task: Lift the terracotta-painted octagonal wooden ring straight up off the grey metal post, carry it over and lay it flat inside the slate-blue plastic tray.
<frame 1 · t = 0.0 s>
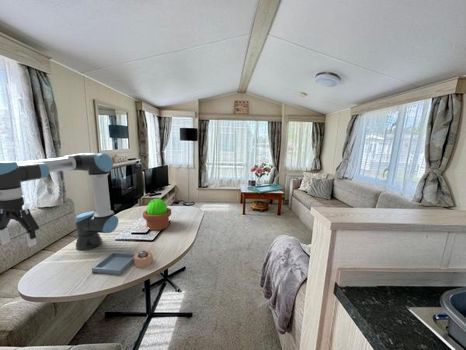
hand: (19, 244, 92), 28 cm above the table, fingers open, 13 cm apart
tray: (116, 265, 123), on the table
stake: (143, 263, 125), on the table
potted cactus: (158, 226, 177), on the table
ring: (143, 262, 125), resting on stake
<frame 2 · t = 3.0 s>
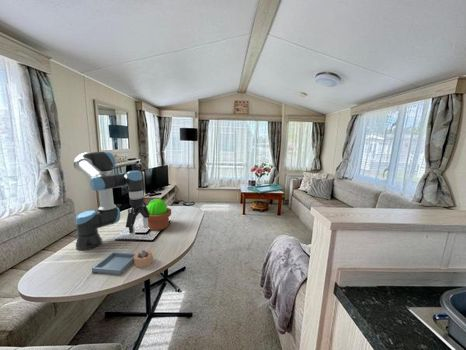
hand: (139, 232, 123), 20 cm above the table, fingers open, 13 cm apart
nothing on the table moved.
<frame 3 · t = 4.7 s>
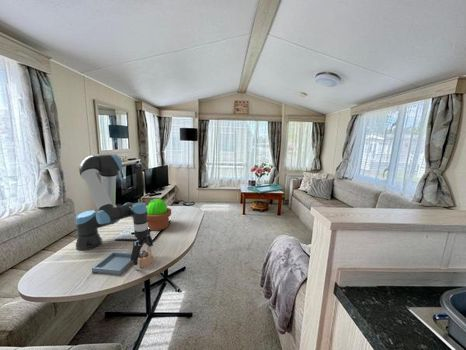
hand: (143, 262, 125), 1 cm above the table, fingers open, 13 cm apart
nothing on the table moved.
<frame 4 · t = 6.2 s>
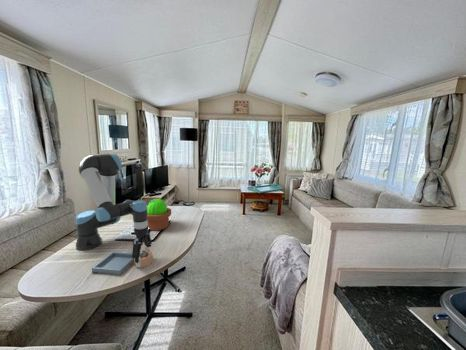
hand: (143, 261, 125), 1 cm above the table, fingers closed on ring, 10 cm apart
ring: (143, 262, 125), point 1 cm above the table, touching gripper
everything else where it was.
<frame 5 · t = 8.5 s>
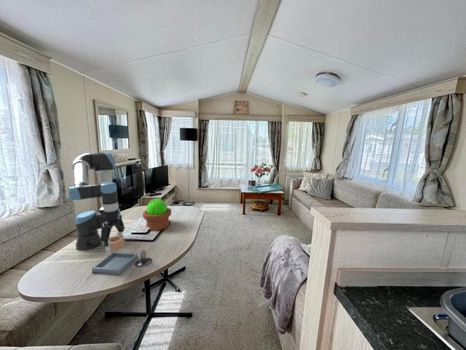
hand: (114, 246, 121), 12 cm above the table, fingers closed on ring, 10 cm apart
ring: (115, 247, 121), point 12 cm above the table, touching gripper
everything else where it was.
when the fingers open (1 cm above the table, at t = 10.8 s): ring stays where it is, resting on tray.
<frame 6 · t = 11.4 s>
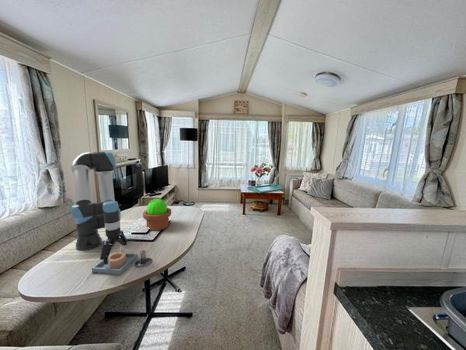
hand: (116, 261, 123), 2 cm above the table, fingers open, 13 cm apart
ring: (116, 264, 123), point 1 cm above the table, touching tray
everything else where it was.
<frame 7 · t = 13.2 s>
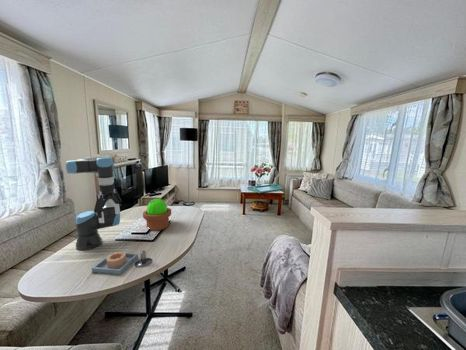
hand: (110, 218, 126), 27 cm above the table, fingers open, 13 cm apart
nothing on the table moved.
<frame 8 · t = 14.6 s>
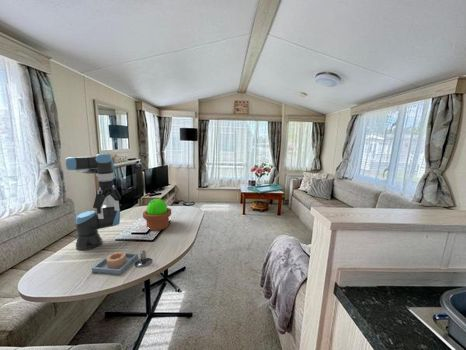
hand: (109, 214, 126), 29 cm above the table, fingers open, 13 cm apart
nothing on the table moved.
at the end: ring inside the target area on the tray (0.3 cm from its centre), point 0.8 cm above the tray's base; ring tilted 0°; the gripper is holding nothing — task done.
